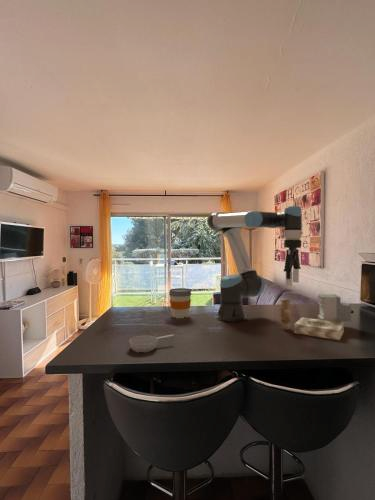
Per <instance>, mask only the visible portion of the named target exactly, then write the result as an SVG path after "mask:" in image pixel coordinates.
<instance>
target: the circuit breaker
mask: <svg viewBox="0 0 375 500" xmlns="http://www.w3.org/2000/svg"><path fill="white" fill-rule="evenodd" d="M317 303H318V306H319V314H317V319H318V320H326V321H333V322H341V323H342V322H348V323H349V322H350V323H351V321H352V314H354V310H352V305H350V303H349V304H348V303H347V302H343V301H341V297H340V296H339V295H337V294H332V293H331V294H330V293H329V294H324V293H323V294H322V293H320V294H319V293H318V294H317Z"/></svg>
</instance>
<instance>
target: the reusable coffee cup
mask: <svg viewBox="0 0 375 500" xmlns="http://www.w3.org/2000/svg"><path fill="white" fill-rule="evenodd" d="M191 290H192V289H190V288H185V287H183V288H182V287H180V288H178V287H177V288H171V289H169V294H168V295H169V306H170V309H171V313H172V317H173V318H174V317H176V318H175V319H185V318H184V317H186V318H189V315H190V314H189V313H190V308H191V302H192V299H191V297H192V291H191Z"/></svg>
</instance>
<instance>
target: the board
mask: <svg viewBox="0 0 375 500" xmlns="http://www.w3.org/2000/svg"><path fill="white" fill-rule="evenodd" d="M293 326H294V327H293V329H294V330H293V331H294V332H293V333H295V334H299V335H306V336H312V337H317V338H323V339H329V340H336V341H340V340H341V338H342V336H343V335H344V333H345V323H344V322H342V321H341V322H333V321H326V320H320V319H319V320H318V318H311V317H310V318H308V317H300V318H299V320H297V321H296V322H294V325H293Z"/></svg>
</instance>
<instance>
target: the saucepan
mask: <svg viewBox="0 0 375 500" xmlns="http://www.w3.org/2000/svg"><path fill="white" fill-rule="evenodd" d="M174 336H175V334H174V333H173V334H167V335H162V336H158V337H157V336H154V335H138V336H133V337H132V338H130V339H129V340H128V341H129V346H130V349H131V350H132V351H133V352H135V353H139V352H144V353H149V352H151V351H154V350H155V348H156V346H157V345H158V340H163V339H166V338H171V337H174Z"/></svg>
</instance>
